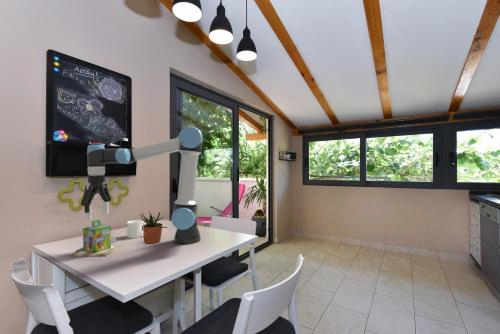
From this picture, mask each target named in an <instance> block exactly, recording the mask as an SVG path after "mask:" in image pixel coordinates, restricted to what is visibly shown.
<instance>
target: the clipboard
mask: <svg viewBox="0 0 500 334" xmlns="http://www.w3.org/2000/svg"><path fill="white" fill-rule="evenodd" d="M121 248H122V246H121V245H120V246H119V245H117V246H116V245H113V246H112V245H111V248H109V249H106V250H102V251H99V252H96V253H93V252H87V251H83V247H81V248H79V249H76V250H75V251H74V252H72V253H70V254H69V256H70V257H107V256H109V255H111V254H112V253H114V252H116V251H118V250H119V249H120V250H121Z"/></svg>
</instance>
